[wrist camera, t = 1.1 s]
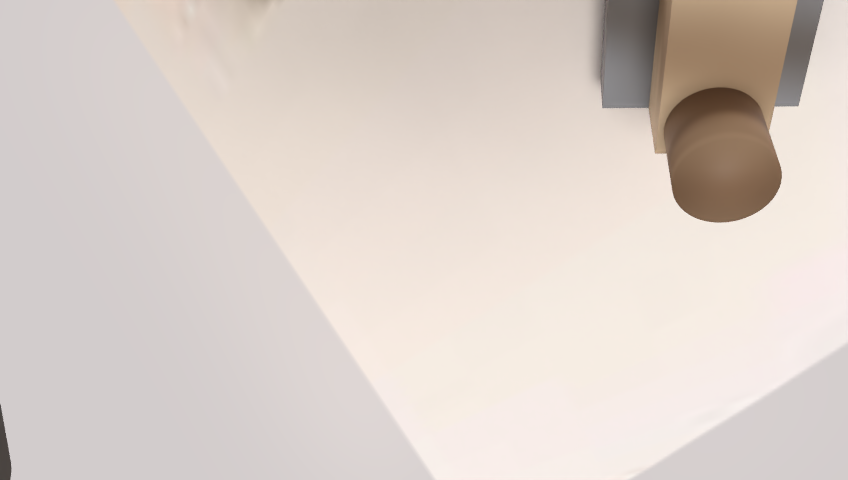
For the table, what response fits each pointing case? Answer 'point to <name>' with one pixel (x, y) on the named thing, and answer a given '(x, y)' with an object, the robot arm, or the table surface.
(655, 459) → the table surface
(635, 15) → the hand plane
